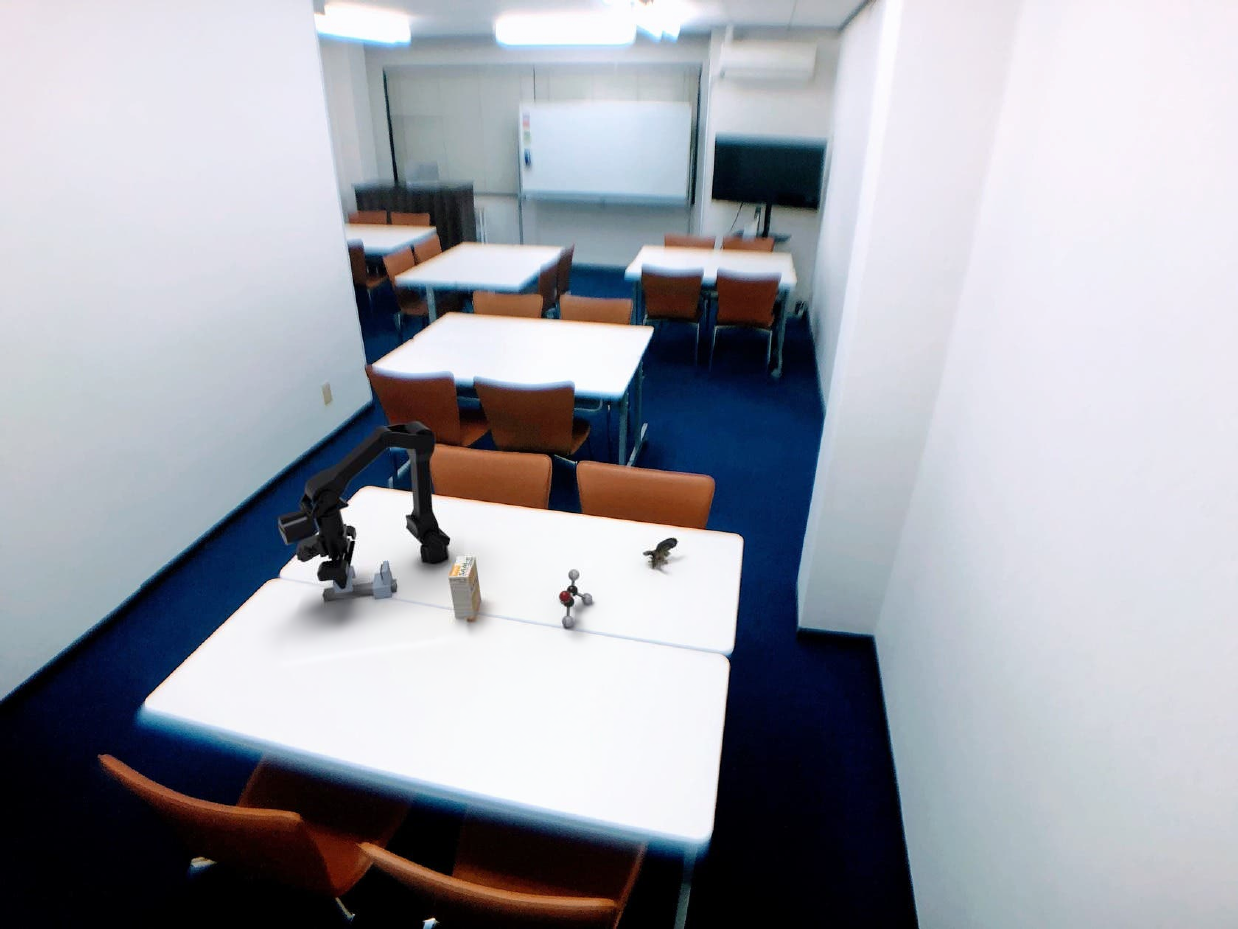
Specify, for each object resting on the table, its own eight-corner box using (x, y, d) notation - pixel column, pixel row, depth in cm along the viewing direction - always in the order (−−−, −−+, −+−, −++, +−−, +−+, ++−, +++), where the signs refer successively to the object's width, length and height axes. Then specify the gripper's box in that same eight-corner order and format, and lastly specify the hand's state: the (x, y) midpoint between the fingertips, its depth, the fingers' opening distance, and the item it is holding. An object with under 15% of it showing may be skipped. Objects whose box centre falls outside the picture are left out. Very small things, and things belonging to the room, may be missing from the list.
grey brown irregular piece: (672, 571, 176) (684, 547, 183) (657, 551, 174) (669, 527, 180) (650, 576, 181) (662, 552, 187) (635, 556, 179) (648, 533, 185)
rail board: (400, 579, 177) (398, 569, 175) (398, 601, 169) (396, 592, 168) (327, 589, 174) (324, 579, 172) (321, 612, 166) (318, 602, 165)
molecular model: (593, 599, 169) (591, 564, 164) (583, 633, 158) (581, 597, 153) (560, 596, 170) (558, 562, 165) (549, 630, 160) (545, 594, 154)
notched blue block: (355, 576, 171) (349, 552, 168) (352, 591, 166) (346, 567, 163) (339, 578, 171) (332, 554, 167) (335, 593, 166) (328, 569, 162)
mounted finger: (393, 581, 174) (388, 558, 171) (391, 596, 169) (386, 573, 166) (377, 583, 174) (371, 560, 170) (374, 599, 169) (369, 575, 165)
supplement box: (475, 621, 162) (468, 577, 156) (455, 621, 162) (447, 577, 156) (482, 598, 170) (476, 555, 163) (462, 598, 170) (456, 555, 163)
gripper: (302, 510, 167) (316, 562, 175) (285, 555, 151) (302, 610, 159) (350, 504, 169) (362, 556, 176) (339, 548, 153) (353, 603, 160)
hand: (345, 580), depth 168 cm, fingers closed on notched blue block, 6 cm apart
